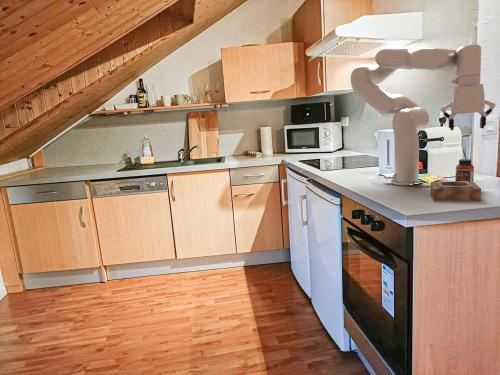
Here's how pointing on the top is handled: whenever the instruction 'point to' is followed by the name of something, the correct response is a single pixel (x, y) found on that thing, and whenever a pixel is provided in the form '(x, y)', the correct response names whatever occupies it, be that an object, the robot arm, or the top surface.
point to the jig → (455, 191)
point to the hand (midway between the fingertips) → (466, 129)
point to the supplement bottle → (465, 170)
